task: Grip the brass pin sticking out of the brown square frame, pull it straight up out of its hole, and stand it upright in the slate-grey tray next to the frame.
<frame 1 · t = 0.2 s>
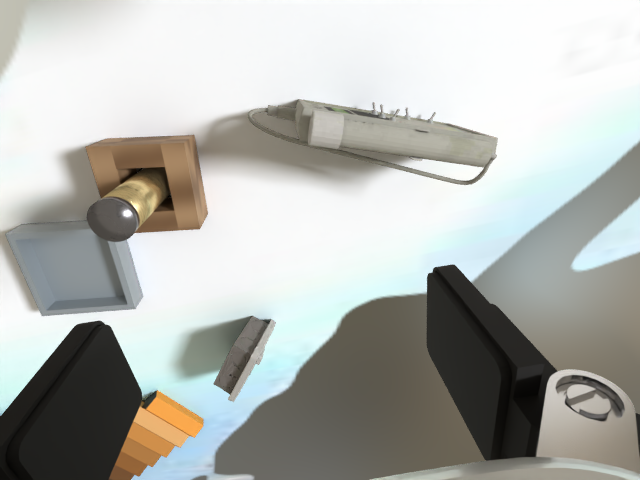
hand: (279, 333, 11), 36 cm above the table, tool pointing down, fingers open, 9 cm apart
parts tray: (86, 262, 48), on the table
geiger counter: (353, 125, 44), on the table
brown square frame: (160, 178, 44), on the table
brass pin: (140, 196, 38), in the brown square frame
electrical switch: (248, 336, 56), on the table
pan flute: (99, 415, 61), on the table
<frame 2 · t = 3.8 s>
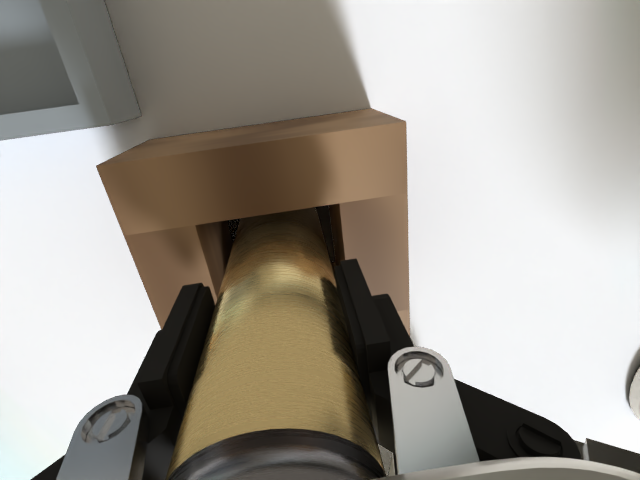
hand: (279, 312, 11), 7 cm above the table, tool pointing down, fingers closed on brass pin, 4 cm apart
brown square frame: (280, 225, 18), on the table
brass pin: (279, 306, 12), in the brown square frame, touching gripper
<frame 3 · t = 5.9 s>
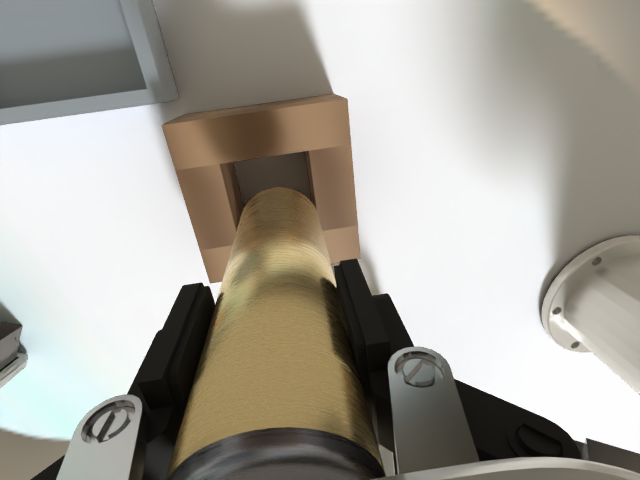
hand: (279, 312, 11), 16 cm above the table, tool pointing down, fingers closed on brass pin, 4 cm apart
geiger counter: (365, 395, 37), on the table
brown square frame: (273, 177, 26), on the table
brass pin: (279, 306, 12), point 16 cm above the table, touching gripper
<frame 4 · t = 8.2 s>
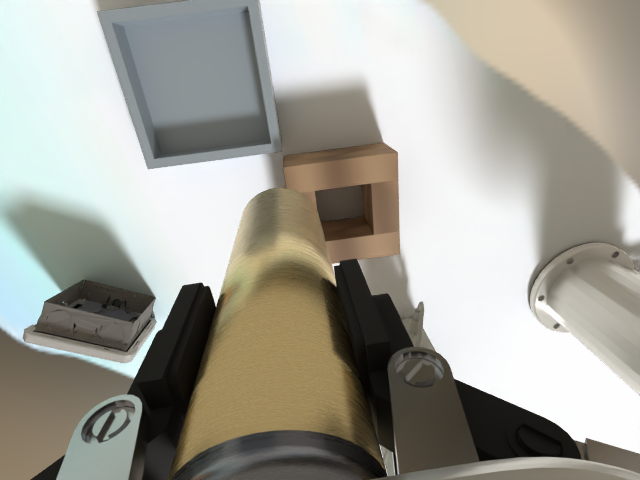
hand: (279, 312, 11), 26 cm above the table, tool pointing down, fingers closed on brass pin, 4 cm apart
parts tray: (205, 87, 32), on the table
geiger counter: (393, 361, 48), on the table
brown square frame: (338, 197, 37), on the table
brass pin: (280, 307, 12), point 26 cm above the table, touching gripper
electrical switch: (118, 294, 40), on the table
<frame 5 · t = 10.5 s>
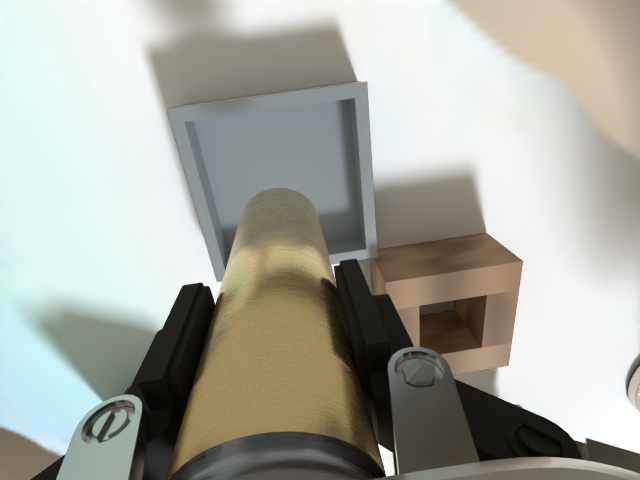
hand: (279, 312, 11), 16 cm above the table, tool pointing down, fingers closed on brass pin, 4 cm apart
parts tray: (284, 180, 26), on the table
brown square frame: (428, 291, 32), on the table
brass pin: (279, 307, 12), point 16 cm above the table, touching gripper
when the fingers open (10 cm above the table, at t = 12.5 s): brass pin drops 2 cm, resting on parts tray.
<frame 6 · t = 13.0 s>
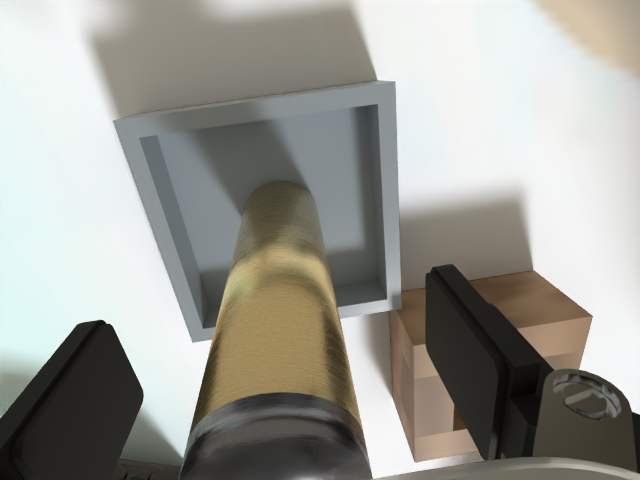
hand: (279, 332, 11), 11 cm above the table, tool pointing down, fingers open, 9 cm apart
parts tray: (280, 208, 20), on the table
brown square frame: (458, 339, 26), on the table
brass pin: (280, 292, 13), in the parts tray, point 8 cm above the table
electrical switch: (138, 466, 29), on the table
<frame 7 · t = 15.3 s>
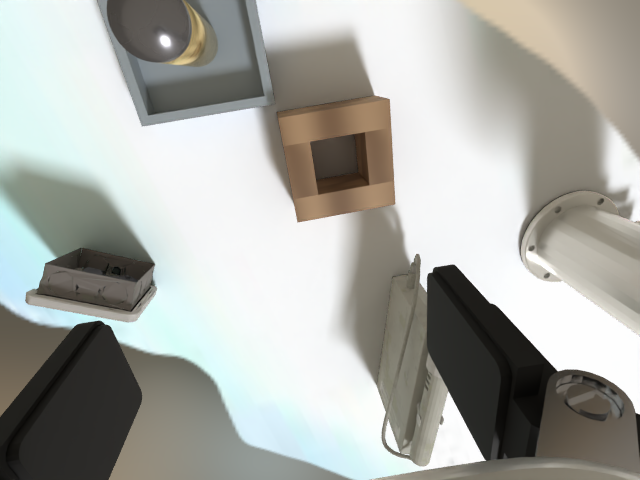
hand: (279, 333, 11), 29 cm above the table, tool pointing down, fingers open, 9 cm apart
parts tray: (195, 41, 32), on the table
geiger counter: (392, 320, 49), on the table
brown square frame: (332, 153, 38), on the table
brass pin: (177, 33, 25), in the parts tray, point 8 cm above the table
electrical switch: (116, 262, 40), on the table
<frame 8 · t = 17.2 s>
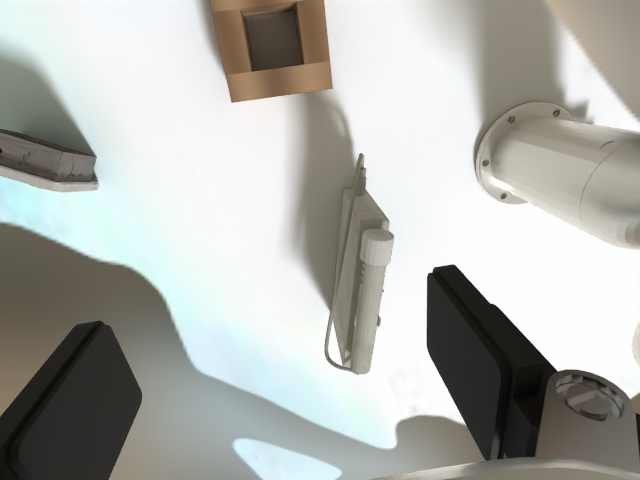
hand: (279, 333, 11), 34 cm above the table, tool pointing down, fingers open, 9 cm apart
geiger counter: (344, 239, 48), on the table
brown square frame: (274, 42, 37), on the table
electrical switch: (58, 153, 40), on the table
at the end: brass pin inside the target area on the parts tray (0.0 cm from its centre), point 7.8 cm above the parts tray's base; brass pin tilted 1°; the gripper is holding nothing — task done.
